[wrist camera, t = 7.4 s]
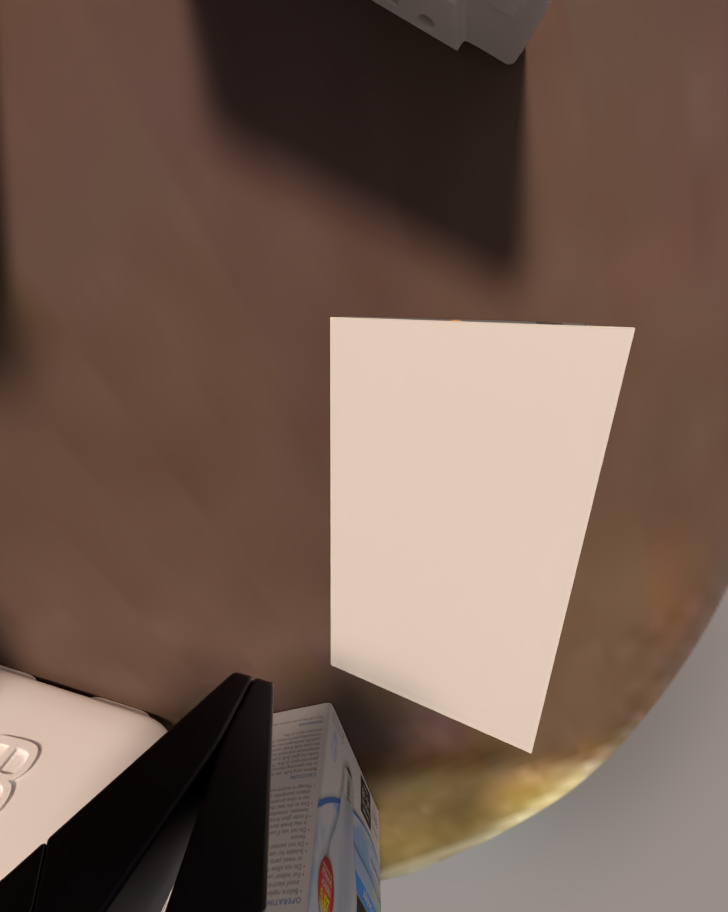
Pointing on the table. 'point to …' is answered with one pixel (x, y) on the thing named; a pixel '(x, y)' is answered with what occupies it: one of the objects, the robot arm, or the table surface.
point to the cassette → (475, 22)
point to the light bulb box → (319, 819)
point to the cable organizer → (58, 757)
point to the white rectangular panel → (463, 504)
